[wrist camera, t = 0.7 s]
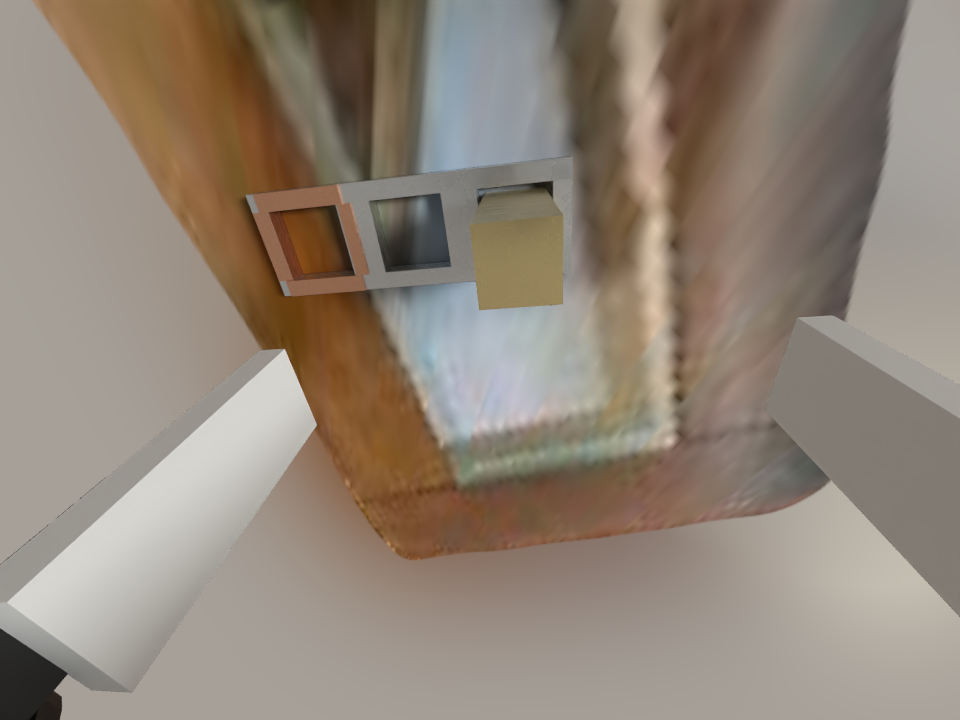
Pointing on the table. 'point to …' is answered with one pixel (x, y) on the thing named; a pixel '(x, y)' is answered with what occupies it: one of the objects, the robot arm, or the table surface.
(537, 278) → the brass post
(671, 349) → the table surface
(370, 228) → the triple square frame
